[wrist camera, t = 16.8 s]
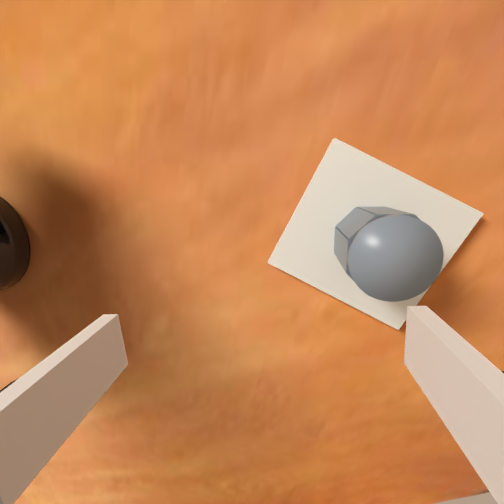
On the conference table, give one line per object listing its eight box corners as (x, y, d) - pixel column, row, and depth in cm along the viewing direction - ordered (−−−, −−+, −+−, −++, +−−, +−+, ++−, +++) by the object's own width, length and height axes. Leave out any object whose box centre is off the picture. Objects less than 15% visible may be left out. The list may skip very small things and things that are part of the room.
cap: (399, 271, 34) (437, 303, 25) (332, 270, 35) (346, 300, 26) (406, 206, 32) (449, 215, 23) (335, 206, 33) (351, 215, 24)
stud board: (268, 259, 37) (263, 278, 30) (332, 139, 33) (344, 127, 25) (394, 324, 37) (419, 359, 30) (475, 211, 32) (527, 220, 25)
